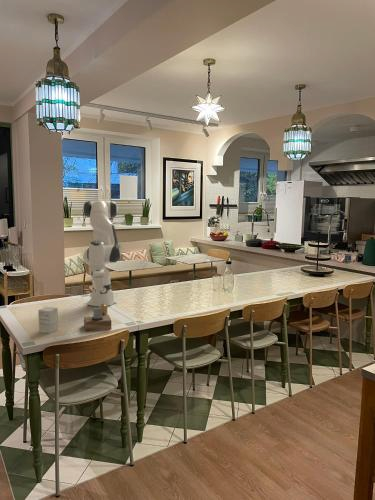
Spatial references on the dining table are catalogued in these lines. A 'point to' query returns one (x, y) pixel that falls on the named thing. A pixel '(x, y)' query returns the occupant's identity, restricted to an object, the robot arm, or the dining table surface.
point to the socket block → (97, 323)
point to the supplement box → (48, 319)
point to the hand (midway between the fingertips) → (97, 294)
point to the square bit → (97, 314)
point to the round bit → (103, 309)
